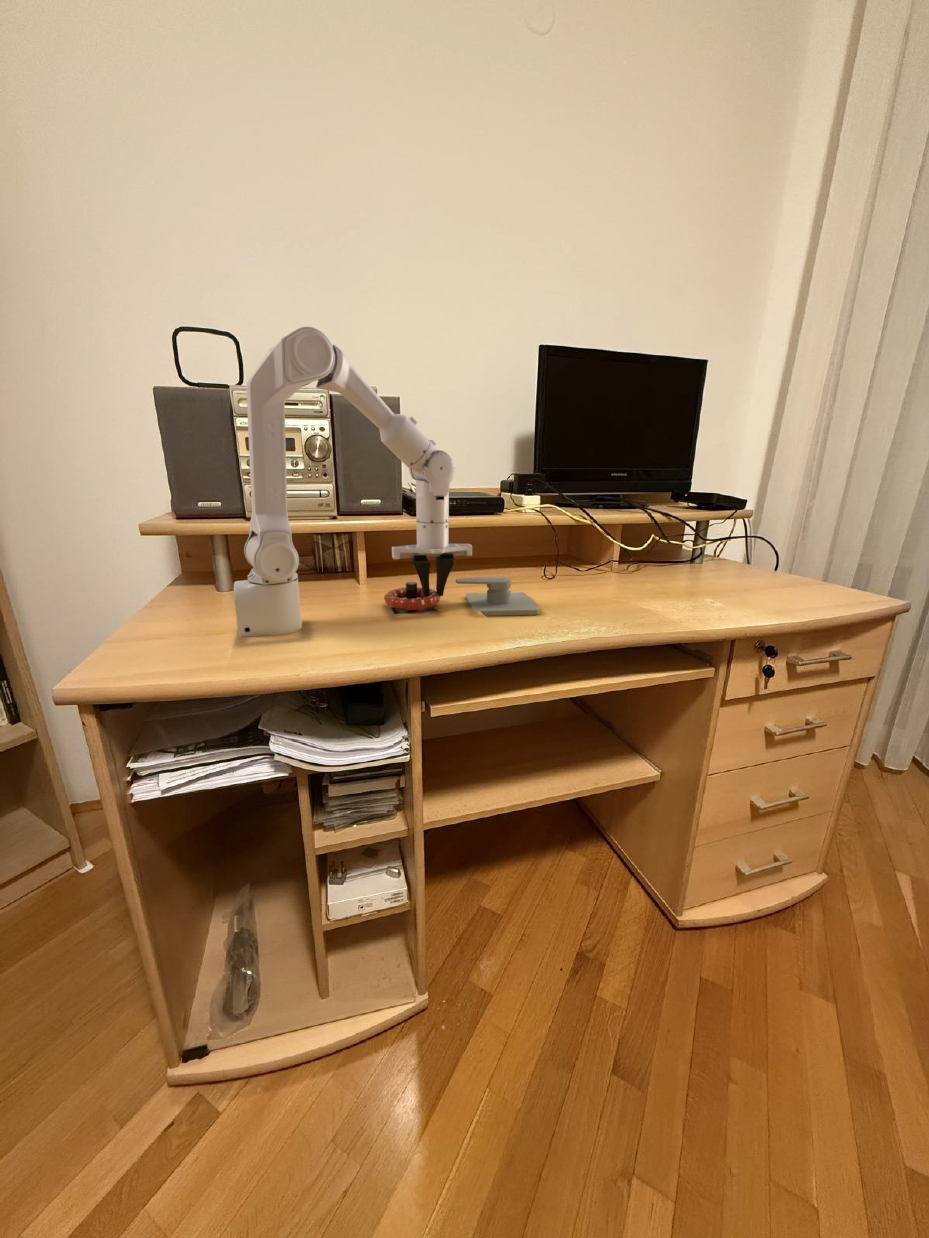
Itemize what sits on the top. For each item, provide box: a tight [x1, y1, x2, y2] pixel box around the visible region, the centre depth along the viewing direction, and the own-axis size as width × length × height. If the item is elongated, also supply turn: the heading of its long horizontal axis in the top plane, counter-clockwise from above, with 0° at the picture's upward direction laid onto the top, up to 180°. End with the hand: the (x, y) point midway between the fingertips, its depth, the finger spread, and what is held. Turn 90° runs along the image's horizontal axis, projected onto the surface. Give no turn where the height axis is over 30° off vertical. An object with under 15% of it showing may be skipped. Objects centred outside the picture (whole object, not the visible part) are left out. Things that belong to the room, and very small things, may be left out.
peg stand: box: [389, 581, 439, 615], centre depth 90 cm, size 8×8×5 cm
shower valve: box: [455, 576, 540, 617], centre depth 94 cm, size 12×6×15 cm
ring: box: [383, 586, 441, 610], centre depth 90 cm, size 10×10×2 cm
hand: (432, 595), depth 91 cm, fingers closed on ring, 2 cm apart
